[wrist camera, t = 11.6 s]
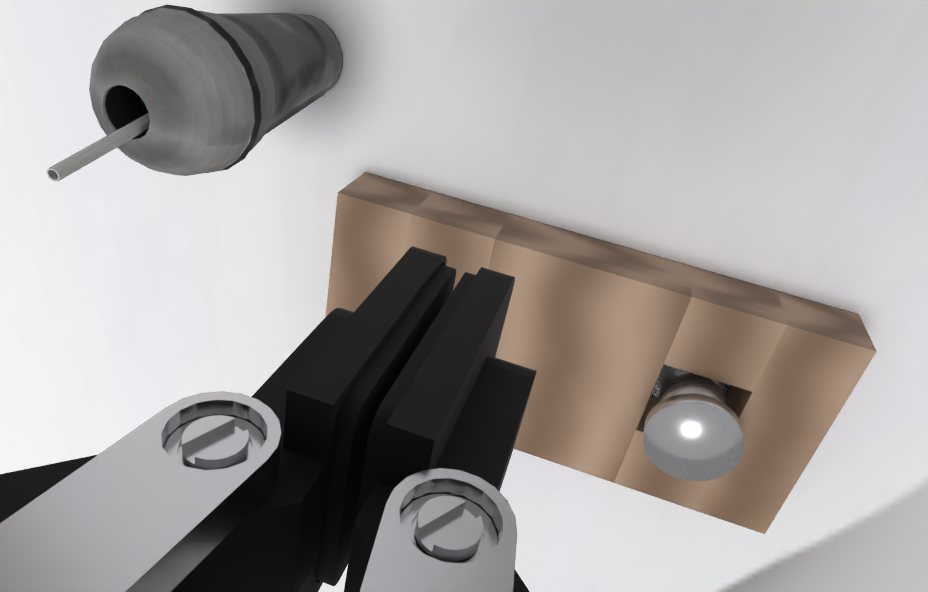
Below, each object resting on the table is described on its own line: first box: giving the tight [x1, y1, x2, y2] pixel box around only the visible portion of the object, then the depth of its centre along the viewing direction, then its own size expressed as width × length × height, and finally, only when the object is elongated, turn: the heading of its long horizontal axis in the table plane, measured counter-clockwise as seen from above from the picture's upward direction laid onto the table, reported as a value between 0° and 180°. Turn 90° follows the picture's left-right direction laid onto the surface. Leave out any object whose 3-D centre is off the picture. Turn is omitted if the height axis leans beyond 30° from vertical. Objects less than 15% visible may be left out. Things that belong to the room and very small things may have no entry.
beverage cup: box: [46, 5, 343, 181], centre depth 31 cm, size 7×7×20 cm
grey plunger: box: [643, 364, 745, 481], centre depth 39 cm, size 5×5×6 cm
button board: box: [326, 172, 876, 534], centre depth 42 cm, size 30×14×4 cm, turn 79°
